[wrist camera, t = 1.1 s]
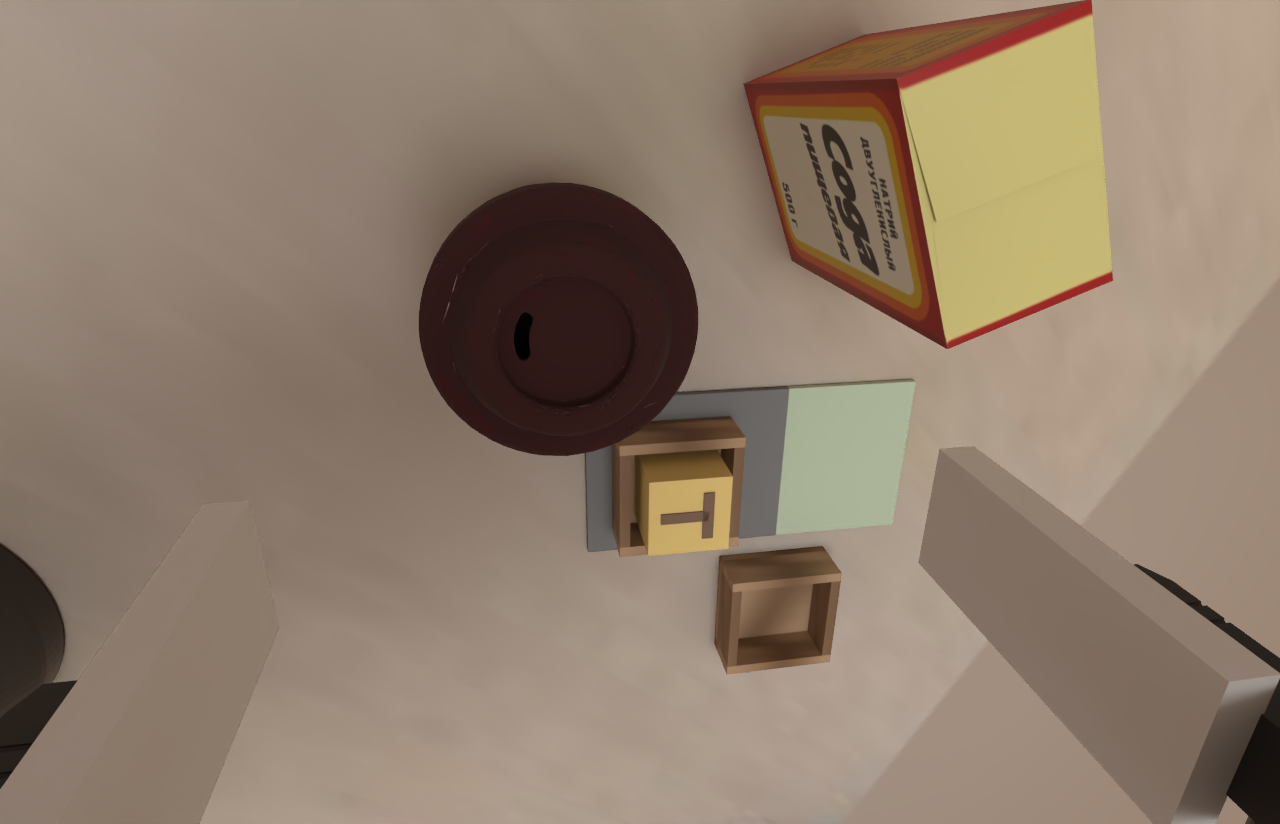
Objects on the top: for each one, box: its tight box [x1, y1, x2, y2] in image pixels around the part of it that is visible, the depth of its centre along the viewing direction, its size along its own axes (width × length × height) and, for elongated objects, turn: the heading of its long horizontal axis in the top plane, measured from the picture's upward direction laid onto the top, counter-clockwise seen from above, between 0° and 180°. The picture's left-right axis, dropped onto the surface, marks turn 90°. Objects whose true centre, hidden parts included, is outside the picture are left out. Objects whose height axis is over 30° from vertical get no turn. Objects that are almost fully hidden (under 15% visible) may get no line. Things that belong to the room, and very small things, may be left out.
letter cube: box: [634, 449, 733, 556], centre depth 42 cm, size 4×4×5 cm
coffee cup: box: [419, 183, 698, 456], centre depth 32 cm, size 10×10×15 cm
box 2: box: [715, 546, 842, 674], centre depth 49 cm, size 7×7×3 cm
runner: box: [585, 379, 916, 552], centre depth 45 cm, size 20×10×1 cm, turn 90°
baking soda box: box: [744, 0, 1113, 349], centre depth 32 cm, size 10×6×16 cm
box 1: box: [612, 416, 746, 557], centre depth 43 cm, size 7×7×3 cm
